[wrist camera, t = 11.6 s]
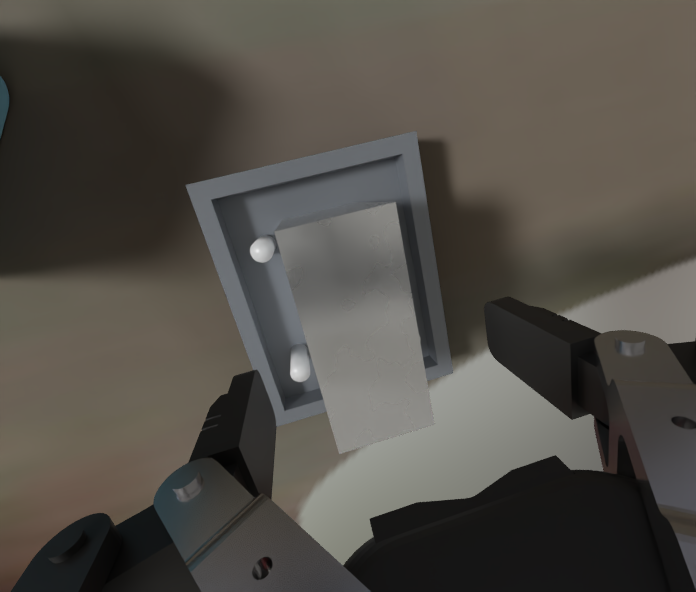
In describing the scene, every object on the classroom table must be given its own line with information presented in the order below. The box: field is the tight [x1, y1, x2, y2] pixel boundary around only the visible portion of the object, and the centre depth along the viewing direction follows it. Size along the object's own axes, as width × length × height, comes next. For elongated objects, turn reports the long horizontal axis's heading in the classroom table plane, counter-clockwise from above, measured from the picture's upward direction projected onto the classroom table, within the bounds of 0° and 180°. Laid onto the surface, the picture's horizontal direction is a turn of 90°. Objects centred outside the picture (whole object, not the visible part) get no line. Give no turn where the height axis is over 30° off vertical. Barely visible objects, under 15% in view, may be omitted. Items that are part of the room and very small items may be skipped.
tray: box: [186, 131, 453, 427], centre depth 21 cm, size 16×13×4 cm
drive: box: [274, 202, 434, 454], centre depth 17 cm, size 10×4×9 cm, turn 13°
